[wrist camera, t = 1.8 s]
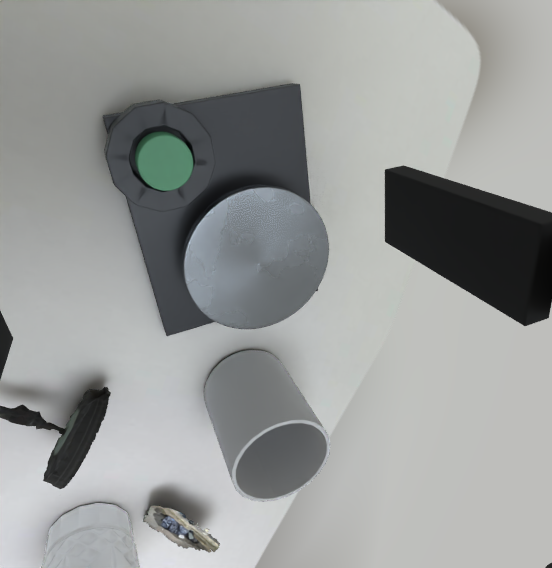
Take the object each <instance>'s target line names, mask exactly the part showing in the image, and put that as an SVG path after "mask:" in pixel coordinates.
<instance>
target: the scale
mask: <svg viewBox="0 0 552 568" xmlns="http://www.w3.org/2000/svg"><path fill="white" fill-rule="evenodd" d="M103 119H104V122H105V126H106V129H107V133H108V138H107V142H106V146H105V157H106V160H107V164H108V167H109V170H110V174H111V177H112V180H113V183H114V185H115V186H116V187H117V188H118V189H119V190H120V191H121V192H122V193H123V194H124V195H125V196H126V198H127V202H128V205H129V208H130V212H131V215H132V219H133V222H134V226H135V229H136V233H137V236H138V239H139V243H140V246H141V250H142V253H143V257H144V260H145V264H146V267H147V270H148V274H149V277H150V281H151V284H152V288H153V291H154V295H155V298H156V301H157V305H158V308H159V312H160V315H161V319H162V322H163V326H164V329H165V332H166V336H169V335H172V334H176V333H179V332H182V331H186V330H189V329H192V328H196V327H199V326H202V325H206V324H209V323H212V322H216V321H214V320H212V319H210V318H209V317H208V316H206V315H205V314H204V313H203V312H202V311H201V310H200V309H199V308H198V307H197V306H196V304H195V303H194V301H193V300H192V298H191V296H190V294H189V292H188V290H187V288H186V285H185V282H184V278H183V273H182V254H183V248H184V244H185V240H186V238H187V236H188V233H189V231H190V229H191V227H192V225H193V224H194V222H195V221H196V219H197V218H198V217H199V215H200V214H201V213H202V212H203V211H204V210H205V209H206V208H207V207H208V206H209V205H210V204H211V203H212V202H214V201H215V200H216V199H218V198H219V197H221V196H223V195H224V194H226V193H228V192H230V191H233V190H235V189H238V188H241V187H245V186H250V185H262V184H266V185H275V186H279V187H282V188H285V189H288V190H290V191H292V192H294V193H296V194H297V195H299V196H301V197H302V198H304V199H305V200H306V201H307V202H309V203H310V194H309V182H308V171H307V159H306V148H305V136H304V125H303V113H302V101H301V90H300V84H293V83H292V84H286V85H281V86H275V87H269V88H263V89H257V90H251V91H245V92H239V93H233V94H227V95H222V96H216V97H210V98H204V99H198V100H192V101H186V102H180V103H174V104H170V103H167V102H165V101H162V100H155V101H149V102H142V103H136V104H133V105H131V106H130V107H129V108H128V109H126V110H125V111H124V112H121V113H116V114H110V115H104V116H103ZM159 131H163V132H168V133H171V134H173V135H175V136H177V137H178V138H179V139H180V140H182V141H183V142H184V143H185V144H186V145H187V147H188V148H189V150H190V151H191V154H192V157H193V170H192V174H191V176H190V178H189V179H188V181H187V182H186V183H185V184H184V185H183V186H181V187H179V188H177V189H175V190H171V191H162V190H158V189H155V188H153V187H151V186H150V185H148V184H147V183H146V182H145V181H144V180H143V178H142V177H141V175H140V173H139V171H138V169H137V166H136V163H135V152H136V148H137V146H138V144H139V142H140V141H141V140H142V139H143V138H144V137H145V136H147V135H148V134H150V133H153V132H159ZM316 291H318V288H317V289H316Z"/></svg>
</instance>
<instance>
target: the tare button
mask: <svg viewBox="0 0 552 568" xmlns="http://www.w3.org/2000/svg"><path fill="white" fill-rule="evenodd" d="M135 163H136V166H137V169H138V171H139V173H140V175H141V177H142V178H143V180H144V181H145V182H146V183H147V184H148V185H150V186H151V187H153V188H155V189H158V190H162V191H171V190H175V189H177V188H179V187H181V186H183V185H184V184H185V183H186V182H187V181H188V179H189V178H190V176H191V174H192V170H193V157H192V154H191V151H190V150H189V148H188V147H187V145H186V144H185V143H184V142H183V141H182V140H180V139H179V138H178V137H177V136H175V135H173V134H171V133H168V132H163V131H159V132H153V133H150V134H148V135H147V136H145V137H144V138H143V139H142V140H141V141H140V142H139V144H138V146H137V148H136V152H135Z"/></svg>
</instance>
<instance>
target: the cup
mask: <svg viewBox="0 0 552 568" xmlns="http://www.w3.org/2000/svg"><path fill="white" fill-rule="evenodd" d="M204 398H205V404H206V407H207V410H208V413H209V416H210V419H211V422H212V424H213V427H214V430H215V433H216V436H217V439H218V442H219V445H220V448H221V450H222V453H223V456H224V459H225V462H226V465H227V468H228V471H229V474H230V476H231V479H232V482H233V484H234V487H235V489H236V491H237V492H239V493H240V494H241V495H242V496H243V497H245V498H248V499H250V500H253V501H262V502H264V501H273V500H278V499H281V498H284V497H287V496H289V495H291V494H293V493H295V492H297V491H299V490H300V489H302V488H303V487H305V486H306V485H307V484H309V483H310V482H311V481H312V480H313V479H314V478H315V477H316V476H317V475H318V474H319V472H320V471H321V470H322V468H323V467H324V465H325V464H326V461H327V458H328V456H329V451H330V440H329V436H328V434H327V432H326V431H325V429H324V428H323V426H322V424H321V423H320V421H319V420H318V418H317V417H316V415H315V414H314V412H313V410H312V409H311V407H310V406H309V404H308V403H307V401H306V400H305V398H304V396H303V395H302V393H301V392H300V390H299V389H298V387H297V386H296V384H295V383H294V381H293V379H292V378H291V376H290V375H289V373H288V372H287V370H286V369H285V367H284V366H283V364H282V363H281V362H280V361H279V359H278V358H276V357H275V356H274V355H272V354H271V353H268V352H264V351H260V350H247V351H241V352H238V353H235V354H233V355H231V356H229V357H227V358H226V359H224V360H223V361H221V362H220V363H219V364H218V365H217V366H216V367H215V368H214V369H213V371H212V372H211V374H210V376H209V378H208V379H207V381H206V385H205V389H204Z"/></svg>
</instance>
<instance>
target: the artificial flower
mask: <svg viewBox="0 0 552 568" xmlns="http://www.w3.org/2000/svg"><path fill="white" fill-rule="evenodd" d="M110 394H111V393H110V392H109V389H108V388H107V387H104V388H103V389H102V390H96V389H89V390H88V391H87V392H86V393H85V394H84V396H83V400H82V401H81V402H80V403H79V405H78V407H77V409H76V410H75V412H74V413H73V414H72V415H71V416H70V421H69V422H68V423H67V424H66V428H65V429H63V428H60V427H58V426H56V425H54V424H52V423H47V422H46V421H45V420H44V419H43V418H42V417H41V415H40V412H35V411H31V410H29V409H28V408H27V407H26V406H24V405H20V406H18V407H16V408H12V409H10V408H6V407H3V406H0V418H3V419H6V420H8V421H10V422H12V423H15V424H20V425H26V426H36V429H42V428H44V429H48V430H51V429H54V430H58V431H59V433H60V434H62V435H61V437H60V438H59V439H58V441H57V443H56V445H55V448H54V450H53V451H52V453H51V456H50V458H49V461H48V467H47V470H46V472H45V473H44V480H43V481H45V482H48V483H51V484H52V485H53V486H55V487H57V488H59V489H62V488H64V487H65V486H66V485H67V484H68V483H69V482H70V480H71V479H72V477H74V476H75V474H76V472H77V471H78V469H79V467H80V466H81V463H82V462H83V460H84V459H85V457H86V454H87V453H88V451H89V449H90V446H91V445H92V442H94V441H93V440H95V437H96V433H98V431H99V428H100V426H101V422H102V421H103V420H104V416H105V413H106V409H107V405H108V400H109V399H108V398H109V396H110Z"/></svg>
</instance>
